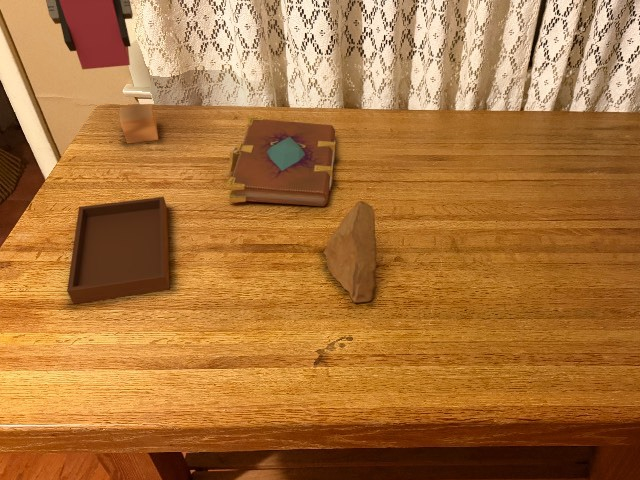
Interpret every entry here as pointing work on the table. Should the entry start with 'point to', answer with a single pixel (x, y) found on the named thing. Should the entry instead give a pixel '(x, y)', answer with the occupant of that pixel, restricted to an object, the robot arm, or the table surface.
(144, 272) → the tray
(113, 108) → the table surface
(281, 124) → the book
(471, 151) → the table surface
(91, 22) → the top block
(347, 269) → the rock
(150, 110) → the base block
